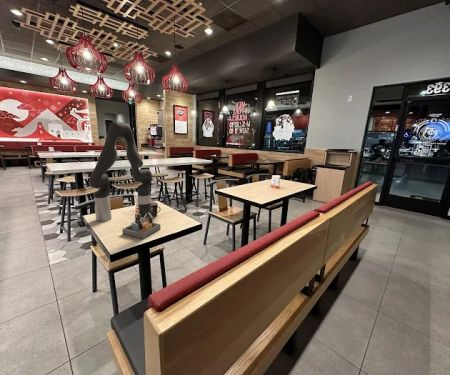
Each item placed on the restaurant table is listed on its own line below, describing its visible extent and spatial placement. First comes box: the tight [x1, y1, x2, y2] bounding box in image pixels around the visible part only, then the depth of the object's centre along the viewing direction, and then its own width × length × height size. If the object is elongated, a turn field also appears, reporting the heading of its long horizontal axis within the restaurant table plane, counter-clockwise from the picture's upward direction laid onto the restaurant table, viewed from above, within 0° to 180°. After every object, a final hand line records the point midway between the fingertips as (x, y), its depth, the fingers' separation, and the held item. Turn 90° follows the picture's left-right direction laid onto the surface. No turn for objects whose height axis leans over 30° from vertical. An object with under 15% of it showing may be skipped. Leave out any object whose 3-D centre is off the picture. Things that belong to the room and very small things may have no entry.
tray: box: [121, 220, 161, 240], centre depth 136 cm, size 16×16×4 cm
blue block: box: [130, 220, 143, 232], centre depth 137 cm, size 5×5×5 cm
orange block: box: [140, 221, 152, 233], centre depth 134 cm, size 5×5×5 cm
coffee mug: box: [151, 201, 162, 219], centre depth 160 cm, size 12×9×10 cm
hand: (146, 226), depth 134 cm, fingers open, 8 cm apart
